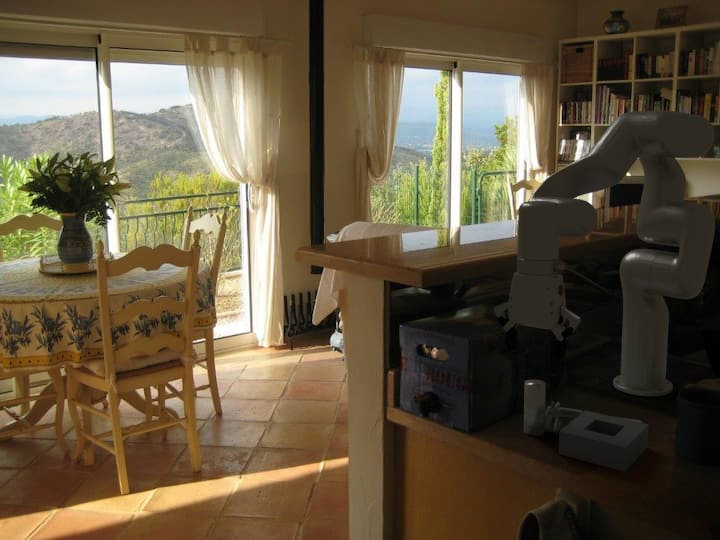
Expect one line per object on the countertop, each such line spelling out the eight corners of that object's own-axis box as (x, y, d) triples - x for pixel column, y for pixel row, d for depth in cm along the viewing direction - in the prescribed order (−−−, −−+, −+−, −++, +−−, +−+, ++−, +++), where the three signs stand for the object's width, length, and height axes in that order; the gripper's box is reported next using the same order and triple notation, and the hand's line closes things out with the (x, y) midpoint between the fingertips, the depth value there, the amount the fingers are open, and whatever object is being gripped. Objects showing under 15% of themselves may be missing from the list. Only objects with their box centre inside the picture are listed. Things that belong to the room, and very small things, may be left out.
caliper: (546, 433, 142) (546, 403, 140) (544, 431, 143) (544, 401, 141) (648, 428, 142) (649, 398, 141) (646, 426, 143) (647, 396, 142)
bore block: (584, 432, 141) (585, 410, 140) (647, 447, 133) (648, 424, 133) (558, 454, 132) (559, 431, 131) (625, 471, 124) (626, 447, 123)
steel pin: (529, 425, 145) (530, 378, 143) (548, 430, 142) (549, 382, 140) (520, 432, 142) (520, 383, 140) (539, 437, 139) (540, 387, 137)
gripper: (589, 268, 133) (586, 358, 136) (505, 260, 144) (503, 343, 147) (573, 274, 128) (569, 368, 131) (486, 265, 138) (485, 351, 141)
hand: (534, 354), depth 139 cm, fingers open, 9 cm apart
